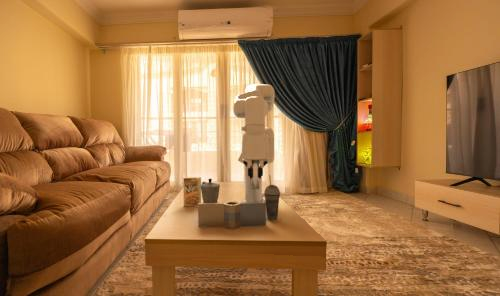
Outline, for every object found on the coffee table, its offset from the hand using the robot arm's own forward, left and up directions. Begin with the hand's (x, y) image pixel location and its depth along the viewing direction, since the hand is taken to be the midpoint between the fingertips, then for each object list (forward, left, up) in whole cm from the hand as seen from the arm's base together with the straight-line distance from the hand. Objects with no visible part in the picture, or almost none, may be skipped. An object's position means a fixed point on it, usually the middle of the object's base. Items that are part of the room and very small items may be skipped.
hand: (255, 177), depth 103 cm
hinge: (-1, -13, -22) cm, 25 cm away
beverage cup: (-19, -5, -22) cm, 29 cm away
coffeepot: (-5, -31, -22) cm, 38 cm away
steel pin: (0, 0, -4) cm, 4 cm away
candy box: (-14, -54, -22) cm, 60 cm away
